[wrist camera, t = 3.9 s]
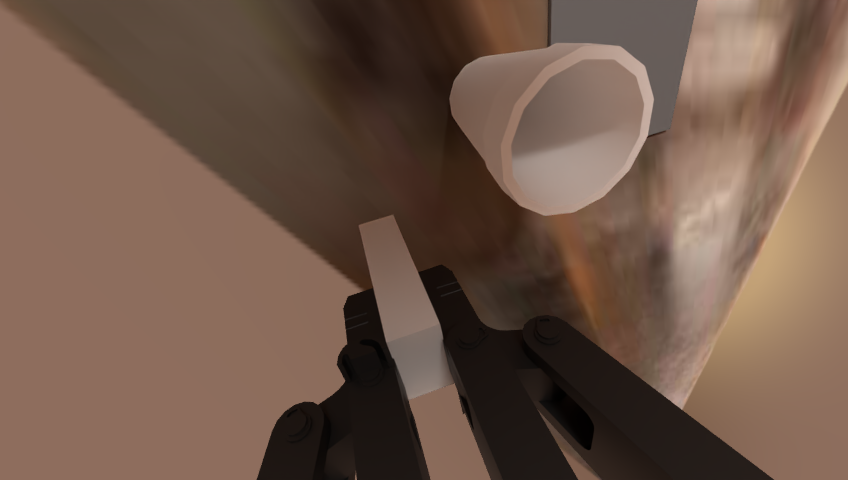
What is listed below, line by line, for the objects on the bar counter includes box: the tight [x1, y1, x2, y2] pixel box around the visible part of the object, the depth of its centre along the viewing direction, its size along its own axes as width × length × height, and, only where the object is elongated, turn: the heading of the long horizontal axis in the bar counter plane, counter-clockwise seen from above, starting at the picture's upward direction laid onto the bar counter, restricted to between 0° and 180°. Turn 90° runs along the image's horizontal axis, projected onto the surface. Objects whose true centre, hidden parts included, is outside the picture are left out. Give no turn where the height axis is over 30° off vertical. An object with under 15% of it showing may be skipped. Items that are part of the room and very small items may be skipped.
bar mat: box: [548, 0, 698, 135], centre depth 32 cm, size 16×14×1 cm
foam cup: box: [449, 43, 654, 216], centre depth 25 cm, size 10×9×13 cm
